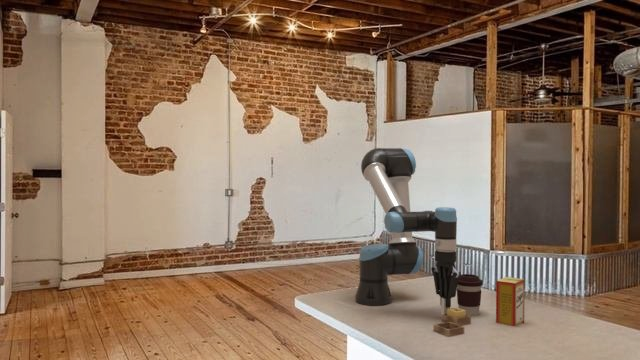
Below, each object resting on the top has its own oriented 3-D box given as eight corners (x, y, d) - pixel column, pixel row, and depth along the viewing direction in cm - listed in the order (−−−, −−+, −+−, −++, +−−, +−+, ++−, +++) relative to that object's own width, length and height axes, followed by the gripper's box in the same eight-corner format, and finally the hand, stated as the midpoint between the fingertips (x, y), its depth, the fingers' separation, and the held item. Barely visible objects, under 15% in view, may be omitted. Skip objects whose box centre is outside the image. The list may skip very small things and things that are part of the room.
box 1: (441, 322, 184) (441, 314, 184) (456, 320, 188) (456, 311, 188) (455, 328, 178) (456, 319, 178) (470, 325, 182) (471, 316, 182)
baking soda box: (514, 328, 179) (515, 282, 179) (496, 325, 183) (496, 279, 183) (524, 322, 186) (524, 278, 186) (506, 319, 190) (506, 275, 190)
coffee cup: (483, 319, 190) (484, 278, 189) (455, 318, 192) (456, 277, 191) (481, 312, 199) (481, 273, 199) (454, 311, 201) (454, 272, 201)
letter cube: (446, 321, 184) (447, 308, 184) (456, 320, 186) (456, 307, 186) (456, 325, 180) (456, 311, 180) (465, 323, 182) (465, 310, 182)
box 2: (433, 333, 173) (433, 324, 173) (449, 330, 177) (449, 321, 177) (448, 339, 167) (448, 330, 167) (464, 336, 171) (464, 327, 171)
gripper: (425, 248, 191) (425, 312, 191) (450, 253, 180) (450, 321, 180) (441, 247, 195) (441, 310, 195) (466, 251, 183) (466, 318, 184)
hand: (445, 315), depth 188 cm, fingers closed
